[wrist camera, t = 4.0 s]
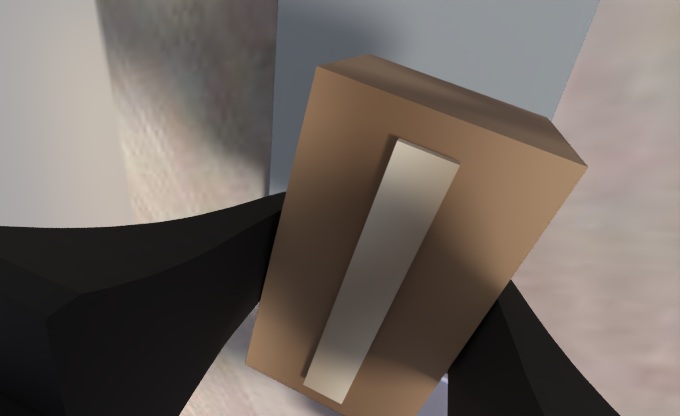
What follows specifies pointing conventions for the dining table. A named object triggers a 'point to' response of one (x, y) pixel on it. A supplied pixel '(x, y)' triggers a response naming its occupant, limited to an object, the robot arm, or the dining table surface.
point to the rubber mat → (426, 51)
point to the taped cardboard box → (399, 232)
